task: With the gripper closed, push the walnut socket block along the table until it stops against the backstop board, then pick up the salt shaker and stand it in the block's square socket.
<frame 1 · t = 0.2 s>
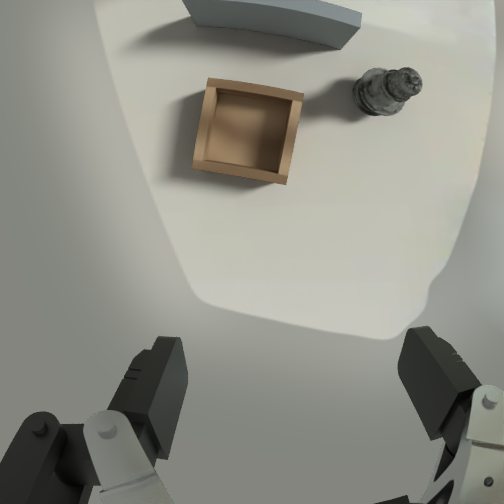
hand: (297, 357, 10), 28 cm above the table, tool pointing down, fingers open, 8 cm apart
socket block: (247, 130, 31), point 2 cm above the table, slide at 8.0 cm
backstop board: (269, 26, 28), on the table
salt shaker: (372, 96, 31), on the table
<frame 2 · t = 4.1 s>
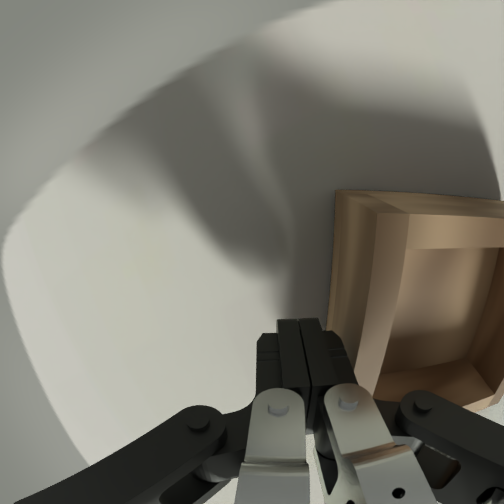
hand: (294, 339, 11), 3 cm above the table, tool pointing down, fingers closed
socket block: (444, 317, 11), point 2 cm above the table, slide at 7.4 cm, touching gripper
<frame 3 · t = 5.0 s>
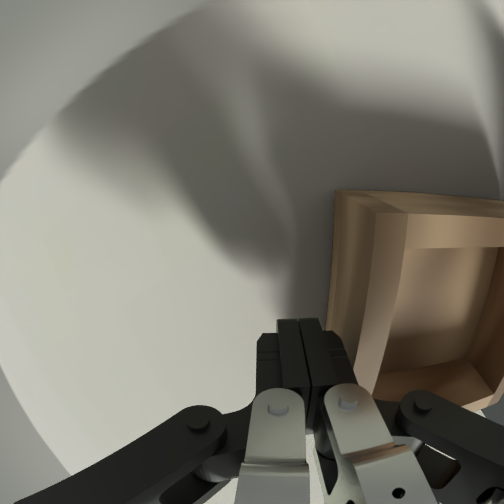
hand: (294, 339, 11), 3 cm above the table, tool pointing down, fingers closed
socket block: (443, 317, 11), point 2 cm above the table, slide at 2.2 cm, touching gripper
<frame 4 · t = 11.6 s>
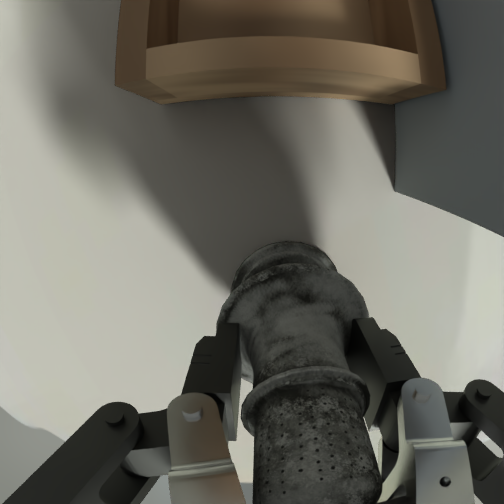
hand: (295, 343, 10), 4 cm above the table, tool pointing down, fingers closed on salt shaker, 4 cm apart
backstop board: (402, 17, 9), on the table
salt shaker: (286, 292, 14), on the table, touching gripper
when the fingers open (6 cm above the table, at t = 16.9 s): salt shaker drops 1 cm, resting on socket block.
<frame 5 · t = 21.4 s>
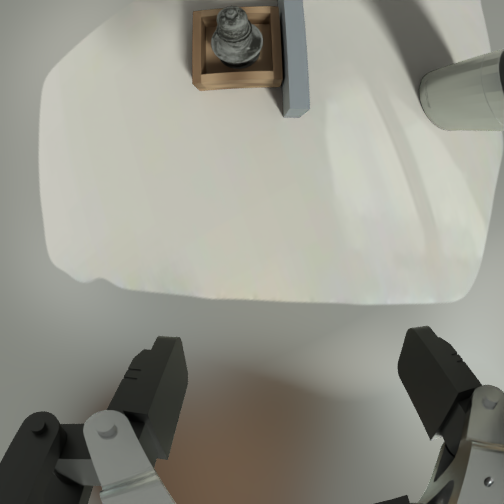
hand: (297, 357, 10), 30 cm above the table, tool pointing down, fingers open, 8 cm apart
socket block: (237, 47, 29), point 2 cm above the table, slide at 0.0 cm, touching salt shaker
backstop board: (288, 52, 32), on the table
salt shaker: (238, 50, 31), point 1 cm above the table, touching socket block
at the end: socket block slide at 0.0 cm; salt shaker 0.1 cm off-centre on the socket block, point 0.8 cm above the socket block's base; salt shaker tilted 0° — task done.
